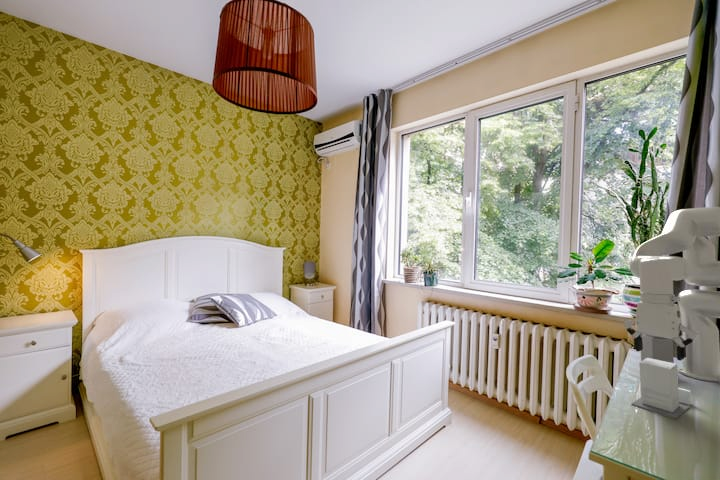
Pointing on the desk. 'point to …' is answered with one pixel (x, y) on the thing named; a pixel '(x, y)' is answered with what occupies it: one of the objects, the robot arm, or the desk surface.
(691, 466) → the desk surface
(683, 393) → the frosted wall
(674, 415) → the charcoal mat
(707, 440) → the desk surface
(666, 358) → the perfume bottle
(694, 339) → the robot arm
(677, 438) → the desk surface
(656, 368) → the supplement box
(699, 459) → the desk surface
